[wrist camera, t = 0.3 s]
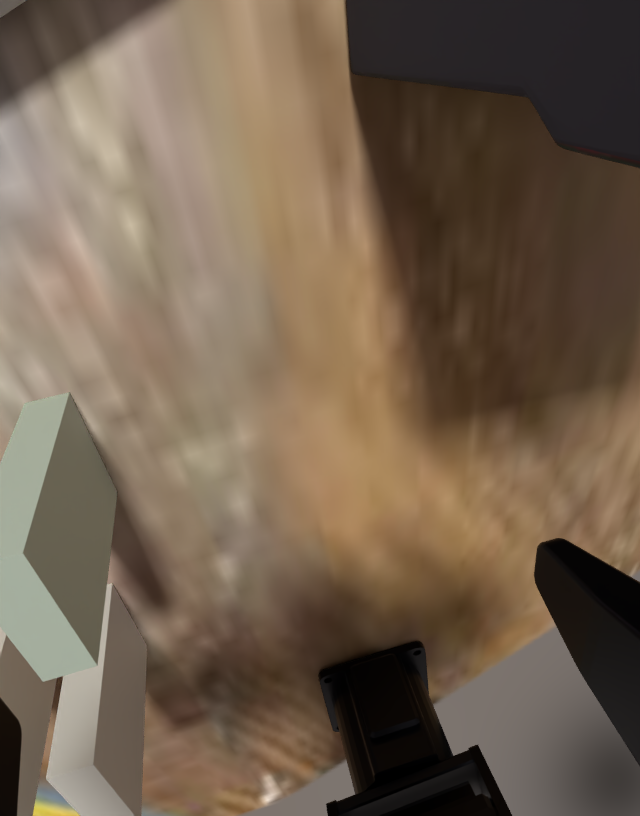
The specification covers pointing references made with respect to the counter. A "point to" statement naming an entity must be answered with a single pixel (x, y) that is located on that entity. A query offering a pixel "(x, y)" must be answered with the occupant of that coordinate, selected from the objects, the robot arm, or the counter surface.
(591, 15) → the dark grey upright block
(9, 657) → the domino
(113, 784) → the domino
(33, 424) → the domino
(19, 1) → the red button box
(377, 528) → the counter surface
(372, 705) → the robot arm
